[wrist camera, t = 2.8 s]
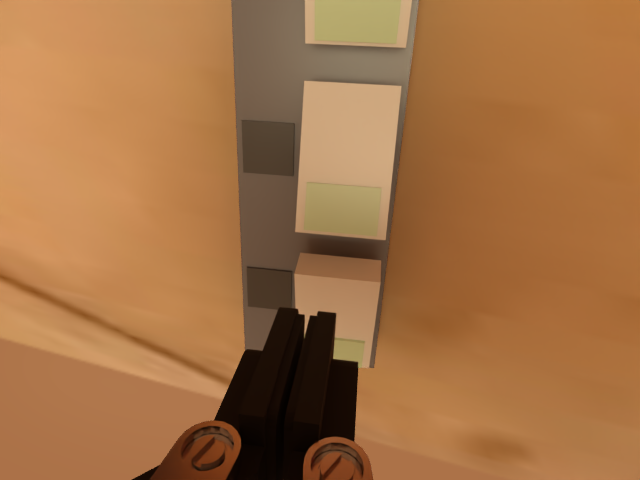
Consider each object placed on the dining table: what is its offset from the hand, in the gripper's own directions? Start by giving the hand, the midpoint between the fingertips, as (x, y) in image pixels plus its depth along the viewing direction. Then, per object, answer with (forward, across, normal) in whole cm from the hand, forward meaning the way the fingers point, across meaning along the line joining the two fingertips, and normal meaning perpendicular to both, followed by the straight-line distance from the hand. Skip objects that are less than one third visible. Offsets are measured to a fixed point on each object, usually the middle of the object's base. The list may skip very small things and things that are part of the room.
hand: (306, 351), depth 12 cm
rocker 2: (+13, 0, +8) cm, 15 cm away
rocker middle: (+13, 0, -2) cm, 13 cm away
